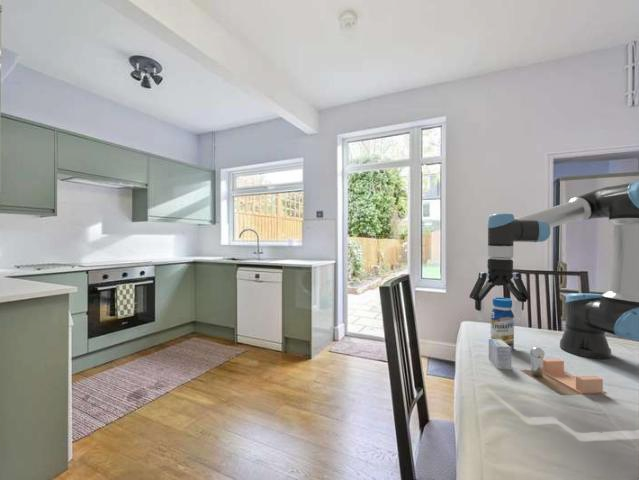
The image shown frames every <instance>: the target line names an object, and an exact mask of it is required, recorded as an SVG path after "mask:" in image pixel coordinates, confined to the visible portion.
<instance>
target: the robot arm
mask: <svg viewBox="0 0 639 480" xmlns="http://www.w3.org/2000/svg"><path fill="white" fill-rule="evenodd" d="M603 218H604V219H605V218H608V221H609V222H610V223H611V224H612V225H613V231H612V232H613V234H612V243H611V244H612V245H611V252H610V253H611V254H610V255H611V256H610V264H609V274H608V285H607V291H605V292H604V293H581V292H580V293H579V292H577V293H575V292H572V293H568V294H567V295H566V297H565V302H564V304H565V306H564V307H565V308H564V309H565V310H564V312H565V329H564V332H563V334H562V337H561V338H560V341H559V348H560V349H561V350H563V351H565V352H567V353H570V354H573V355H577V356H580V357H586V358H590V359H592V358H593V359H600V360H603V359H604V360H605V359H606V360H607V359H610V358H612V349H611V348H610V346H609V342H608V340H607V337H606V333H608V334H611V335H614V336H617V337H619V338H622V339H627V340H631V341H639V181H633V182H629V183H623V184H618V185H611V186H606V187H602V188H599V189H596V190H593V191H590V192H587V193H585V194H581V195H580V196H576V197H573V198H571V199H570V200H569V201H568V202H565V203H561V204H558V205H555V206H552V207H548V208H545V209H542V210H538V211H535V212H532V213H529V214H525V215H522V216H519V217H516V218H515V215H514V214H512V213H493V214H490V215H489V216H488V221H487V257H488V259H487V272H484V271H483V272H482V271H479V273H478V278H477V280H476V282H475V284H474V286H473V288H472V290H471V292H470V294H469V299H472V300H474V303H475V304H474V309H475V310H476V319H477V320H479V321H481V322H484V321H485V302H484V301H483V300H484V299H485V297H487V295H488V293H490V291H491V290H492V289H493V288H494V287H496V286H497V287H499V286H504V287H506V288H507V289H508V290H509V292H510V293H511V294H512V295H513V296H514V298H515V299H514V301H513V302H514V303H513V314H514V318H513V320H517V321H519V322H521V321H523V311H524V309H525V303H526V302H527V300H530V299H531V296H530V295H529V293H528V291H527V288H526V286H525V284H524V281H523V280H522V279H523V278H522V274H521V272H515V271H514V272H513V270H514V261H513V258H514V244H515V243H516V242H518V243H519V242H520V243H523V242H524V243H543V242H545V241H547V240H548V239H549V238H550V236H551V229H552V228H554V227H558V226H561V225H565V224H567V223H571V222H575V221H577V222H583V221H586V220H587V221H588V220H592V219H603ZM514 242H515V243H514ZM512 279H513V281H512Z"/></svg>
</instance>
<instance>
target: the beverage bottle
mask: <svg viewBox="0 0 639 480" xmlns="http://www.w3.org/2000/svg"><path fill="white" fill-rule="evenodd" d="M492 306H493V308H492V310H491V311H490V316H491V317H490V320H489V321H490V339H500V340H502V341H504V342H505V343H506V344H507V345H509V346H510V347H511V351H512V350H514V349H515V346H514V345H515V321H514V320H515V319H514V311H512V308H513V300H512V299H511V298H507V297H500V296H498V297H493V298H492Z"/></svg>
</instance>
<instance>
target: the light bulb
mask: <svg viewBox="0 0 639 480" xmlns="http://www.w3.org/2000/svg"><path fill="white" fill-rule="evenodd" d="M529 353H530V356H531V357H530V359H531V360H530V361H531V362H530V364H531V365H530V367H531V368H530V370H531V375H532V376H534V377H537V378H543V359H544V357H545V351H544V350H543V349H542V348H540V347H538V346H534V347H532V348H531V349H530V351H529Z"/></svg>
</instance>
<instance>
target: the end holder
mask: <svg viewBox="0 0 639 480" xmlns="http://www.w3.org/2000/svg"><path fill="white" fill-rule="evenodd" d="M565 372H566V371H565V361H564V360H563V359H561V358H543V373H544V374H546V375H547V376H549V377H551V378H553V379H555V380H557V381H558V382H560V383H562V384H564V385H566V386H567V387H569V388H571V389H573V390H575V391H576V392H578V393H580V394H579V395H598V393H603V394H605V393H604V392H605V391H604V389H603V388H604V386H603V385H604V384H603V383H604V379H603V378H601V377H599V376H597V375H585V376H584V375H579V376H578V375H577V376H574V375H572V374H570V373H568V372H566V373H565ZM567 373H568V374H567ZM569 374H570V375H569ZM571 375H572V376H571ZM573 376H574V377H573ZM575 377H576V378H575ZM603 391H604V392H603Z"/></svg>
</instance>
